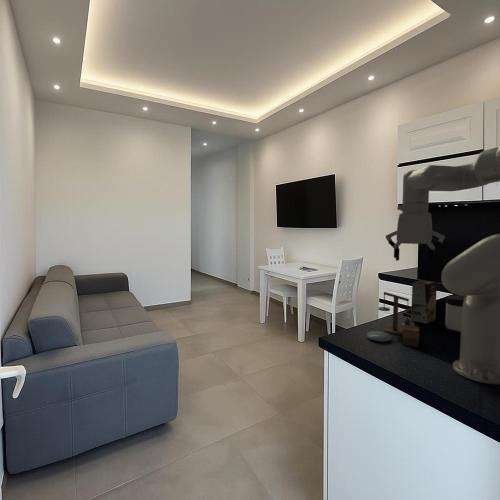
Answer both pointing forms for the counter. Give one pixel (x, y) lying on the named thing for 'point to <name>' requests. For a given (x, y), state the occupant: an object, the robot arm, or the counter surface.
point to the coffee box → (423, 301)
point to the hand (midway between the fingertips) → (413, 261)
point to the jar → (454, 312)
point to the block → (411, 335)
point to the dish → (379, 336)
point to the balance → (395, 315)
